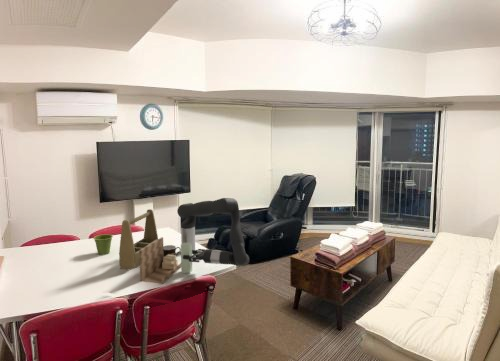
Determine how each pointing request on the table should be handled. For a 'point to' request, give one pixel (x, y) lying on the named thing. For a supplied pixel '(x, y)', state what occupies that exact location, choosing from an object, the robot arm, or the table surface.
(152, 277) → the rack
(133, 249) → the caddy
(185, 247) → the sage green pillar
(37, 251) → the table surface
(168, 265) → the offcut
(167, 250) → the coffee mug
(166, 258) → the offcut
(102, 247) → the plant pot
